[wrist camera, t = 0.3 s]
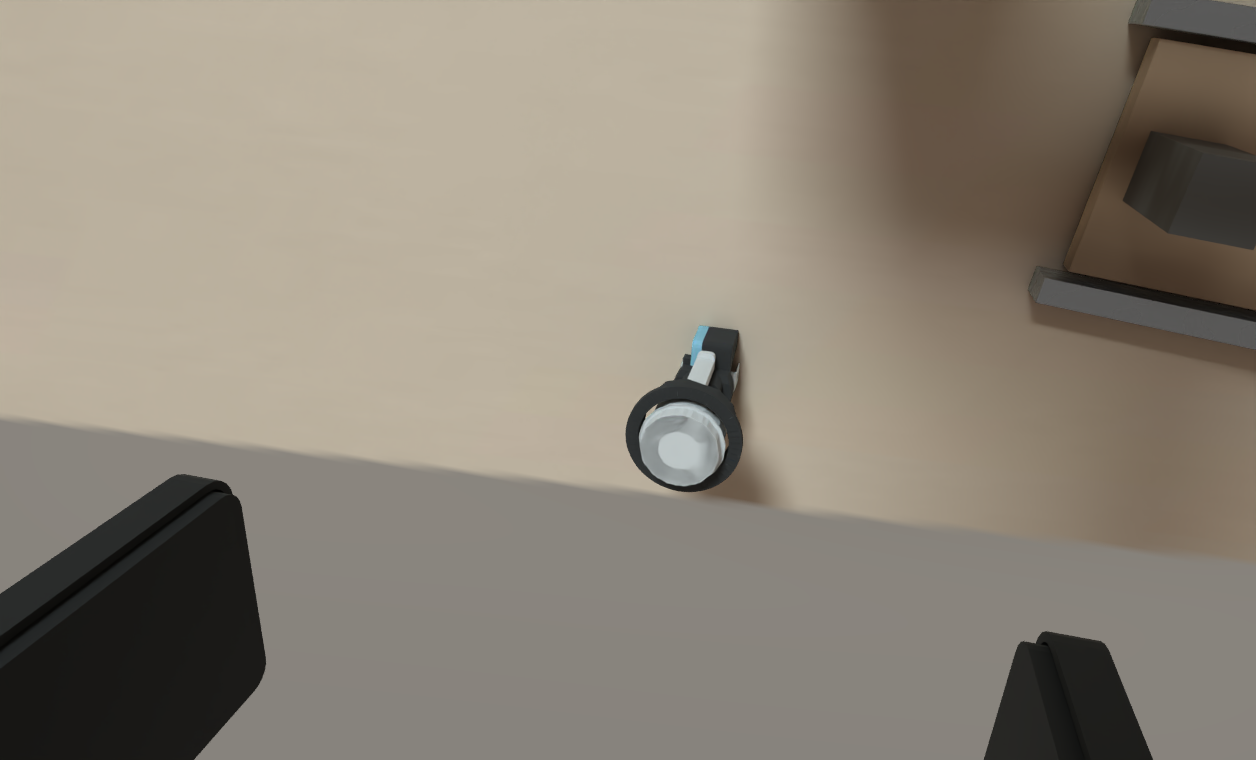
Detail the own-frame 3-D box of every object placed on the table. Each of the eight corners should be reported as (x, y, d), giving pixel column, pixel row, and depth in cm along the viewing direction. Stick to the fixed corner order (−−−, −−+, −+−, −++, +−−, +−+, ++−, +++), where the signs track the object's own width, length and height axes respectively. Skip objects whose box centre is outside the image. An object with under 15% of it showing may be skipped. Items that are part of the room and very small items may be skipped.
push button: (752, 437, 48) (729, 537, 39) (659, 423, 49) (616, 516, 40) (766, 326, 45) (745, 406, 36) (667, 313, 46) (623, 387, 37)
